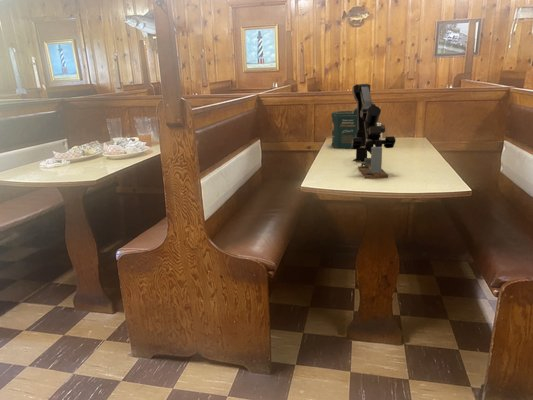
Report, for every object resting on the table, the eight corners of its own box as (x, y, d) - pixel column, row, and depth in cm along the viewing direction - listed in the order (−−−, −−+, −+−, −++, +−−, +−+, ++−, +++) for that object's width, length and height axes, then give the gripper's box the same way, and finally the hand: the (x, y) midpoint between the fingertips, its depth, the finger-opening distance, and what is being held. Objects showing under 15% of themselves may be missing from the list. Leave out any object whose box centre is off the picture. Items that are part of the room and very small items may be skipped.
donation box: (357, 149, 258) (358, 101, 250) (330, 148, 263) (330, 101, 255) (360, 144, 272) (361, 98, 264) (334, 144, 277) (334, 99, 269)
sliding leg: (366, 172, 193) (367, 147, 190) (379, 172, 193) (380, 146, 189) (368, 174, 190) (368, 148, 187) (381, 174, 190) (382, 147, 187)
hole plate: (357, 168, 209) (358, 158, 207) (378, 168, 208) (379, 157, 207) (365, 178, 190) (365, 167, 189) (388, 177, 190) (388, 166, 188)
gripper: (353, 119, 192) (356, 148, 185) (395, 117, 191) (400, 147, 184) (350, 134, 202) (353, 162, 194) (390, 133, 201) (395, 161, 194)
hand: (375, 158), depth 191 cm, fingers closed
